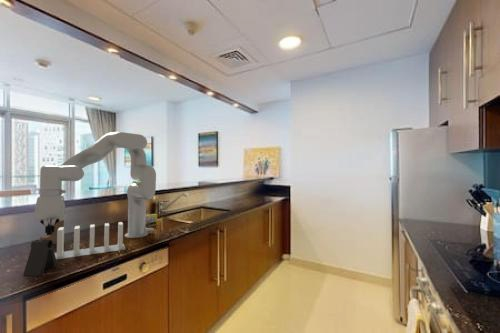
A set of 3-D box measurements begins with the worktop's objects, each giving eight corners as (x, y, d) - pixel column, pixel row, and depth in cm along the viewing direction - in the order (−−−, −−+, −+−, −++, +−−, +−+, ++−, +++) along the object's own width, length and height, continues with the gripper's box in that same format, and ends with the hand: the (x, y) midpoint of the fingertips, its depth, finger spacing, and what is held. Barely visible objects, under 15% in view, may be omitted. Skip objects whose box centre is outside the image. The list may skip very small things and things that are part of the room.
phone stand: (43, 266, 98) (44, 237, 98) (58, 266, 98) (59, 237, 98) (22, 276, 89) (23, 244, 89) (39, 276, 89) (40, 244, 89)
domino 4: (108, 246, 121) (108, 223, 122) (108, 250, 116) (109, 225, 116) (104, 247, 120) (104, 223, 121) (104, 251, 115) (104, 226, 116)
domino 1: (56, 257, 106) (57, 230, 106) (58, 253, 111) (59, 227, 111) (61, 257, 107) (62, 230, 107) (63, 252, 112) (64, 227, 112)
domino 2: (79, 250, 115) (79, 225, 115) (78, 254, 110) (79, 228, 110) (74, 251, 114) (75, 226, 114) (73, 255, 109) (74, 228, 109)
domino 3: (94, 248, 118) (94, 224, 118) (93, 252, 113) (94, 227, 113) (89, 249, 117) (90, 224, 117) (89, 253, 112) (90, 227, 112)
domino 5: (121, 245, 125) (122, 221, 125) (122, 248, 120) (123, 224, 120) (117, 245, 124) (118, 222, 124) (118, 249, 119) (119, 224, 119)
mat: (123, 244, 127) (123, 243, 127) (125, 250, 118) (125, 249, 118) (50, 254, 111) (50, 253, 111) (46, 261, 102) (46, 260, 102)
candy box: (133, 229, 158) (134, 216, 158) (132, 228, 160) (132, 216, 160) (157, 225, 170) (157, 213, 170) (156, 225, 172) (156, 213, 172)
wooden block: (46, 246, 121) (47, 211, 121) (39, 245, 122) (40, 210, 122) (63, 241, 130) (64, 208, 130) (57, 240, 131) (58, 207, 131)
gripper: (72, 191, 114) (71, 230, 114) (30, 193, 106) (29, 234, 106) (70, 193, 108) (69, 234, 108) (26, 194, 100) (25, 238, 100)
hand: (49, 234), depth 107 cm, fingers closed
